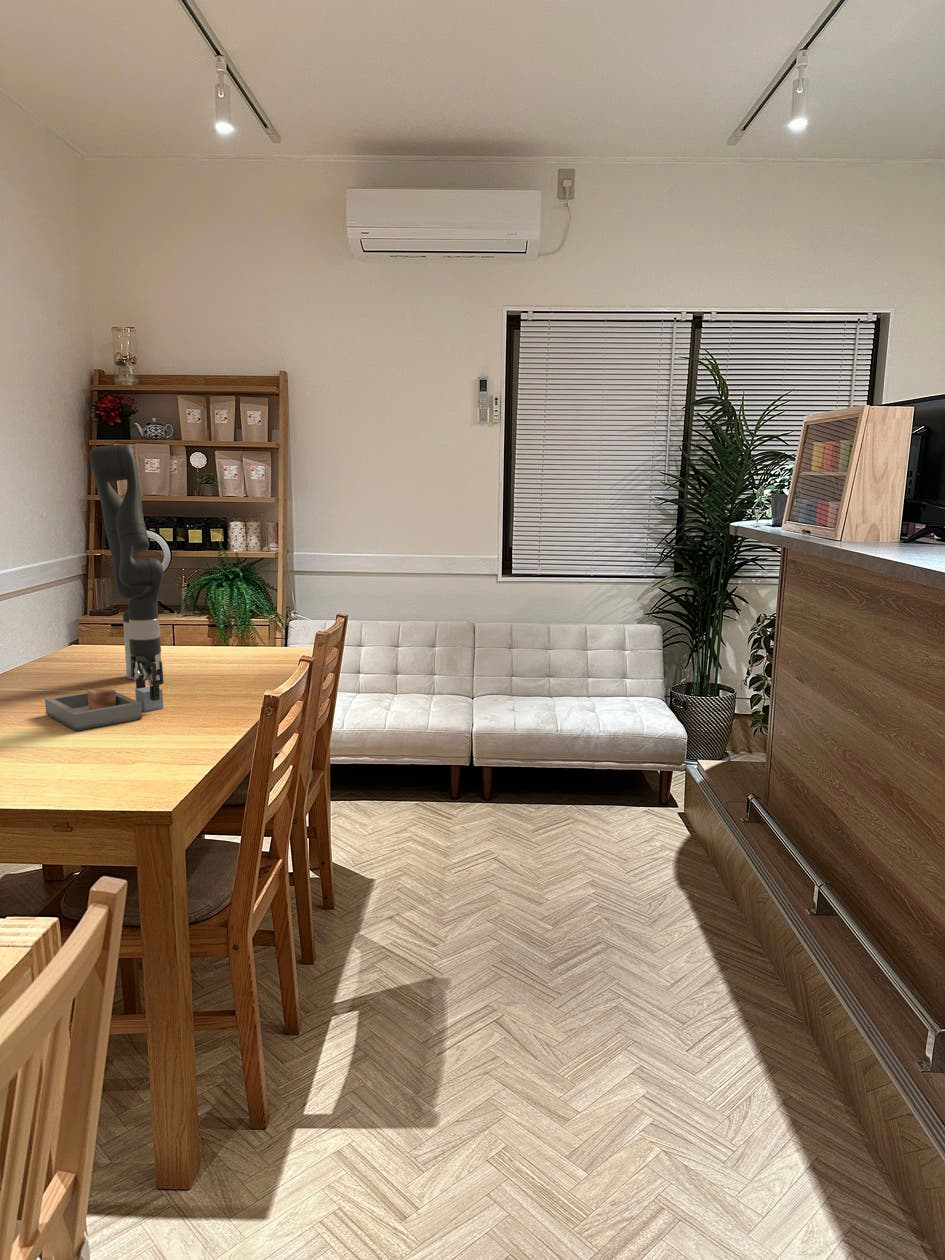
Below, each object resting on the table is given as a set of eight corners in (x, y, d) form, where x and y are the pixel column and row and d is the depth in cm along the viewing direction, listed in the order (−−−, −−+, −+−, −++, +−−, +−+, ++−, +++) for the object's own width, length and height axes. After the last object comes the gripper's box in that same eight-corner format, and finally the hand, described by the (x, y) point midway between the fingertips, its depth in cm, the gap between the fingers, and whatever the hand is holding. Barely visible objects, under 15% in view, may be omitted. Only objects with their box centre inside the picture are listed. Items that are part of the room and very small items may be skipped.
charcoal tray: (109, 703, 227) (108, 688, 227) (142, 718, 213) (141, 702, 213) (46, 714, 216) (44, 698, 216) (75, 730, 202) (74, 714, 202)
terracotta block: (108, 705, 222) (107, 687, 221) (116, 709, 218) (115, 690, 217) (88, 709, 218) (87, 690, 217) (96, 713, 215) (95, 693, 214)
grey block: (154, 704, 227) (153, 685, 226) (163, 707, 224) (162, 689, 223) (136, 707, 224) (135, 689, 223) (144, 711, 220) (143, 692, 219)
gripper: (171, 637, 218) (174, 699, 220) (147, 631, 228) (150, 690, 231) (142, 641, 213) (145, 704, 215) (119, 634, 223) (122, 694, 225)
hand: (148, 697), depth 223 cm, fingers open, 8 cm apart
